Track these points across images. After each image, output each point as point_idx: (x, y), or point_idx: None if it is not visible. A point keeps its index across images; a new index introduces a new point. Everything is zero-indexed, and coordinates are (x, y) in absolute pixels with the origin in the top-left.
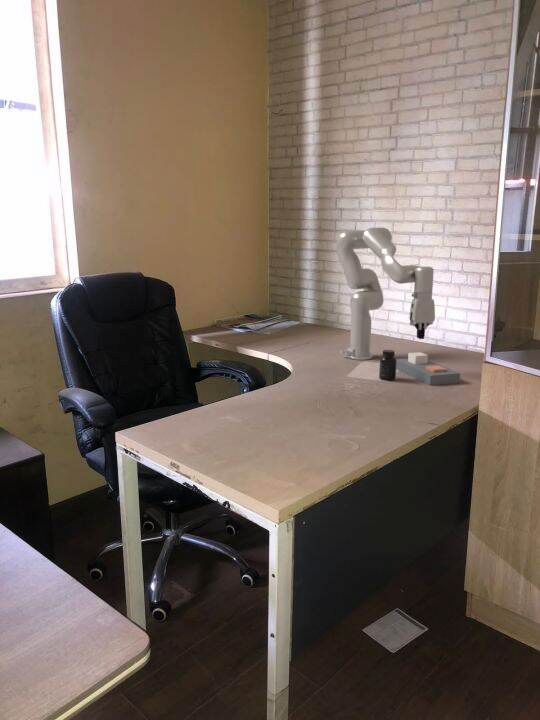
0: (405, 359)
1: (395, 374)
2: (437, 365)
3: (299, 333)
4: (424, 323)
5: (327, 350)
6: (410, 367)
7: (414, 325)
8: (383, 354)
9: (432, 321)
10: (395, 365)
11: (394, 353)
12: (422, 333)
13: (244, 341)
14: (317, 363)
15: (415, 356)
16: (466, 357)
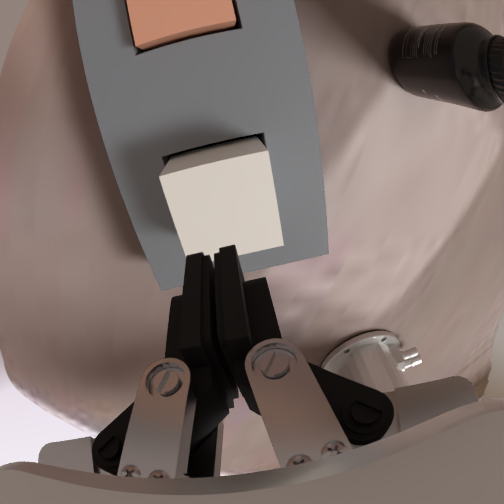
0: (274, 250)
1: (408, 31)
2: (141, 42)
3: None
4: (182, 472)
5: None
6: (309, 87)
7: (404, 396)
8: None
9: (9, 473)
10: (442, 26)
11: (492, 49)
12: (216, 298)
13: None
14: (487, 284)
15: (268, 153)
16: (18, 350)
